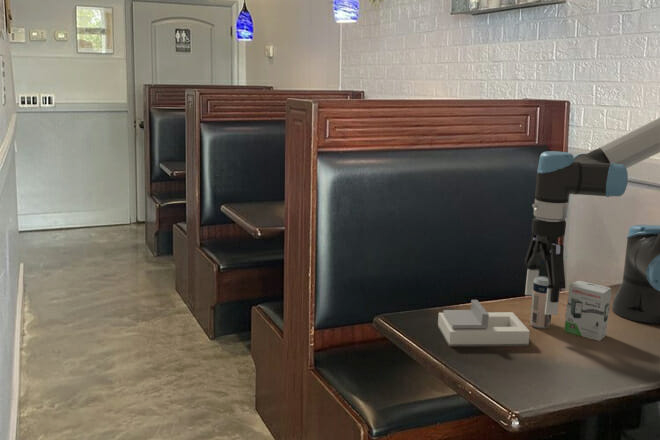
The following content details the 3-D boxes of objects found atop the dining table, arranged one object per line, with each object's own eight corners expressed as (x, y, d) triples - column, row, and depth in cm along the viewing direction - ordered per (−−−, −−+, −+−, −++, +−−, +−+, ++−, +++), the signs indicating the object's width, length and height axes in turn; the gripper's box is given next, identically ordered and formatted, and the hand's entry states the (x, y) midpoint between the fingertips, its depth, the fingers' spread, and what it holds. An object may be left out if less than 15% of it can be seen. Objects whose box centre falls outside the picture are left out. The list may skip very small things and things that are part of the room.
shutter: (476, 313, 164) (477, 299, 163) (487, 328, 154) (488, 314, 154) (443, 313, 163) (443, 300, 163) (452, 328, 154) (453, 314, 153)
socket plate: (511, 325, 166) (512, 312, 166) (528, 345, 155) (529, 331, 154) (437, 326, 165) (438, 312, 164) (449, 346, 154) (450, 331, 153)
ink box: (562, 331, 163) (567, 284, 161) (570, 326, 167) (575, 279, 164) (599, 341, 158) (605, 292, 155) (607, 335, 162) (612, 287, 159)
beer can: (551, 330, 164) (555, 282, 161) (530, 328, 165) (534, 280, 162) (549, 323, 169) (553, 276, 166) (529, 321, 169) (533, 274, 167)
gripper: (516, 206, 173) (508, 287, 177) (553, 230, 148) (543, 323, 153) (545, 207, 173) (537, 287, 178) (587, 231, 149) (576, 323, 154)
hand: (540, 304), depth 166 cm, fingers open, 13 cm apart
